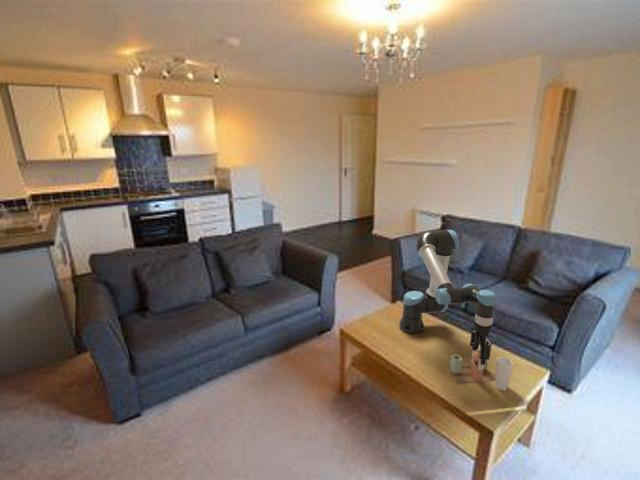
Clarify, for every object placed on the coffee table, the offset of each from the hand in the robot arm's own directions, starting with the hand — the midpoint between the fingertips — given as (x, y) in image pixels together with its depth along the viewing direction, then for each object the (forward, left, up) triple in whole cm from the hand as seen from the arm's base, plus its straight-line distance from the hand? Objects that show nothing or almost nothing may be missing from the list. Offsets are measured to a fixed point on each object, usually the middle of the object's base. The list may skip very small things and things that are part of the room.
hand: (477, 365), depth 163 cm
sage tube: (-6, -7, -7) cm, 12 cm away
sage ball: (-6, +6, 0) cm, 9 cm away
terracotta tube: (0, 0, -7) cm, 7 cm away
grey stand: (-6, +6, -7) cm, 11 cm away
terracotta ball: (0, 0, +3) cm, 3 cm away
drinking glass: (+7, +8, -8) cm, 14 cm away
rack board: (-3, -1, -8) cm, 9 cm away
